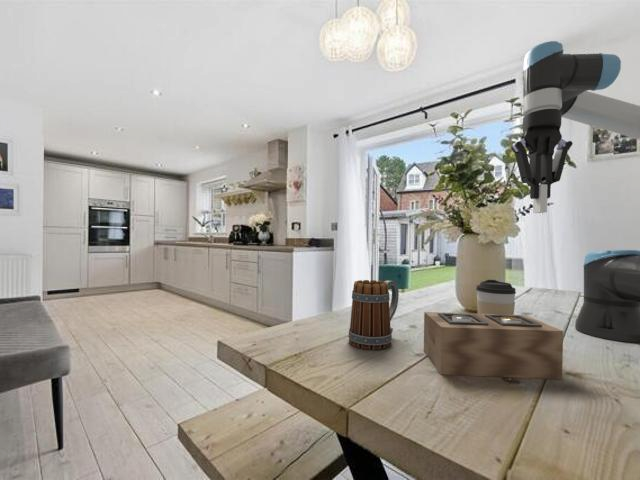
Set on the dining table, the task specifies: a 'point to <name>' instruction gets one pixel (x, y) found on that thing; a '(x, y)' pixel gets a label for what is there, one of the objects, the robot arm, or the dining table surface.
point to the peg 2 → (511, 320)
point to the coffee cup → (495, 297)
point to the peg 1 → (461, 318)
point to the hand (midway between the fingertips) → (539, 212)
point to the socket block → (493, 346)
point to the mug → (372, 314)
